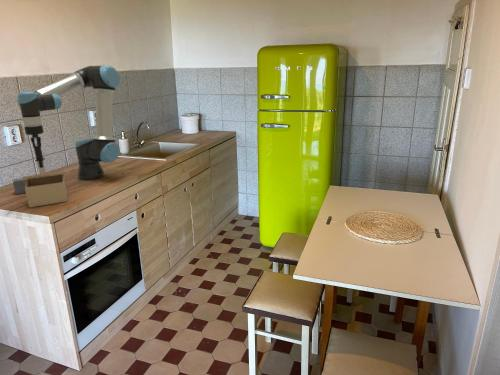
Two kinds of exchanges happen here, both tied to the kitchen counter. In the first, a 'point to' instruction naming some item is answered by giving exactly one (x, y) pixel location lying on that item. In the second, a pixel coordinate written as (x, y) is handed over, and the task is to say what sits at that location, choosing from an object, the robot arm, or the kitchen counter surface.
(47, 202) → the box
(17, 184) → the block
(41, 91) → the robot arm
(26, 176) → the lid
